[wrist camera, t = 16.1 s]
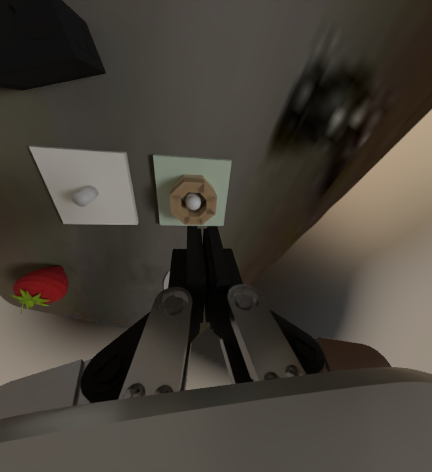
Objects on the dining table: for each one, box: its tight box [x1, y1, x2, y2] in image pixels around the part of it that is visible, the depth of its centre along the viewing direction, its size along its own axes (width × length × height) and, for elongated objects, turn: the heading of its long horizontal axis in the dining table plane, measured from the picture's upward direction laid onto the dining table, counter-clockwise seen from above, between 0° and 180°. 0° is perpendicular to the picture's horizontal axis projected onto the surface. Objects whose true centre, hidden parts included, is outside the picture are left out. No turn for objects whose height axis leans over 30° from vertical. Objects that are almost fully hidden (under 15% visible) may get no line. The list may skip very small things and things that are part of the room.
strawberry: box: [11, 266, 69, 314], centre depth 32 cm, size 6×8×10 cm
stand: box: [29, 146, 138, 225], centre depth 27 cm, size 12×12×4 cm
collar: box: [170, 174, 217, 225], centre depth 29 cm, size 7×7×4 cm
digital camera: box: [0, 0, 106, 90], centre depth 17 cm, size 10×5×7 cm, turn 100°
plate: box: [153, 154, 232, 226], centre depth 29 cm, size 12×12×5 cm
